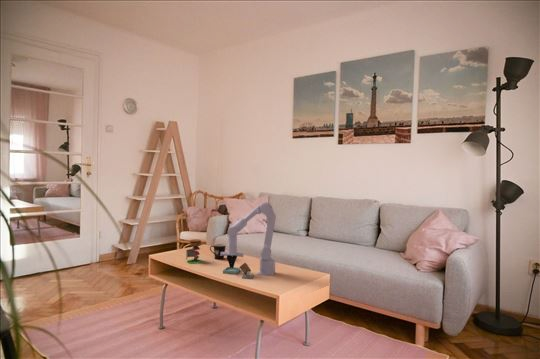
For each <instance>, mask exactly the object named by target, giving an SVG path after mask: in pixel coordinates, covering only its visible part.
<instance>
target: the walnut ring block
mask: <svg viewBox="0 0 540 359" xmlns="http://www.w3.org/2000/svg"><path fill="white" fill-rule="evenodd" d="M239 268H240V271H242V273H243V275H244V274H245V275H246V274H247V271H249V273H250V272H251V271H252V269H250V267H249V265H248V264H247V263H246V262H244V263H242V264H241V265H240V266H239Z"/></svg>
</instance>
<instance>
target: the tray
mask: <svg viewBox="0 0 540 359" xmlns="http://www.w3.org/2000/svg"><path fill="white" fill-rule="evenodd" d="M240 271H241V268H240V267H235V266H234V267H233V268H232V267H231V268H230V266H226V267H225V268H224V269H223V270H222V274H225V275H226V274H228V275H237V274H239V272H240Z"/></svg>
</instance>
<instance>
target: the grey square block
mask: <svg viewBox="0 0 540 359" xmlns="http://www.w3.org/2000/svg"><path fill="white" fill-rule="evenodd" d="M254 277H255V275H254V274H250V272H249V271H247V274H246V275H245V274H244V273H243V275H242V276H241V279H244V280H245V279H246V280H253V278H254Z"/></svg>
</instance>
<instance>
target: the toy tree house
mask: <svg viewBox="0 0 540 359" xmlns="http://www.w3.org/2000/svg"><path fill="white" fill-rule="evenodd" d="M201 245H202V240H201V239H190V240H189V246H190V247H191V248H189V249H186V250H185V260H186V262H187V263H188V264H190V265H191V264H194V265H196V264H197V263H198V264H201V263H203V262H204V260H203V259H198V258H200V256H199V255H200V252H199V250H201V248H200V247H201ZM188 258H192V259H189V260H188ZM198 264H197V265H198Z"/></svg>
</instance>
